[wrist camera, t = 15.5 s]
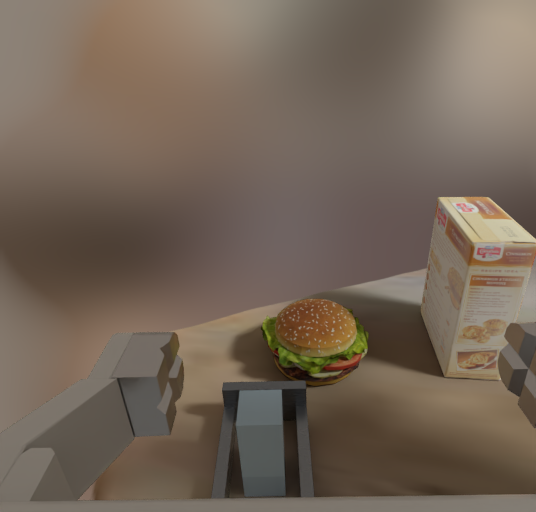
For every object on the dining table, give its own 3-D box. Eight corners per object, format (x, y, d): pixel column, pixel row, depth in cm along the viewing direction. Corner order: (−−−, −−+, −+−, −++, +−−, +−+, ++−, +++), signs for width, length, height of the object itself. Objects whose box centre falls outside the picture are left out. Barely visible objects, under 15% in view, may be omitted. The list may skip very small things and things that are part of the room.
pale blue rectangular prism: (284, 458, 43) (281, 389, 38) (285, 495, 39) (282, 424, 34) (247, 459, 43) (239, 390, 38) (244, 496, 39) (235, 425, 35)
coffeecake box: (501, 381, 51) (542, 242, 42) (442, 378, 52) (470, 241, 43) (465, 312, 64) (490, 195, 55) (418, 311, 65) (436, 195, 56)
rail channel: (305, 411, 48) (305, 380, 46) (314, 522, 37) (315, 488, 34) (227, 413, 48) (223, 382, 46) (213, 523, 37) (206, 489, 35)
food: (339, 318, 64) (340, 275, 61) (381, 379, 52) (387, 330, 48) (255, 334, 62) (252, 290, 58) (279, 403, 49) (277, 353, 46)
